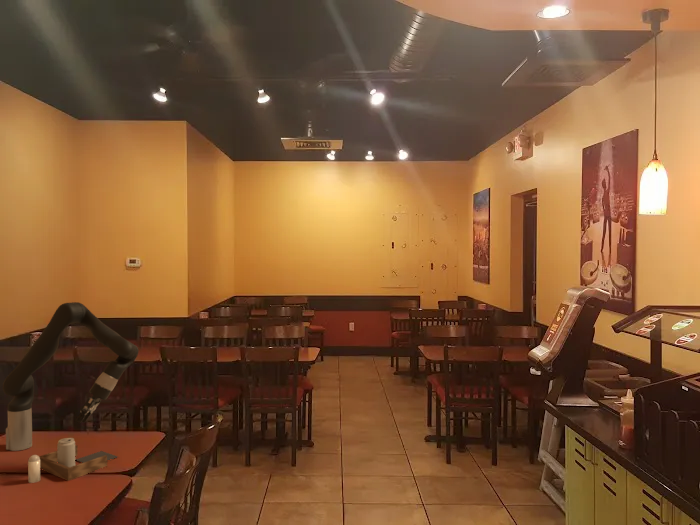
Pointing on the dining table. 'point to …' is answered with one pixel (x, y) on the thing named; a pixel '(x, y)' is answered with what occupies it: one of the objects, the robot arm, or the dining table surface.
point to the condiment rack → (69, 473)
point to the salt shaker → (34, 469)
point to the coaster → (96, 456)
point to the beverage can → (66, 452)
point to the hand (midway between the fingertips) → (79, 422)
